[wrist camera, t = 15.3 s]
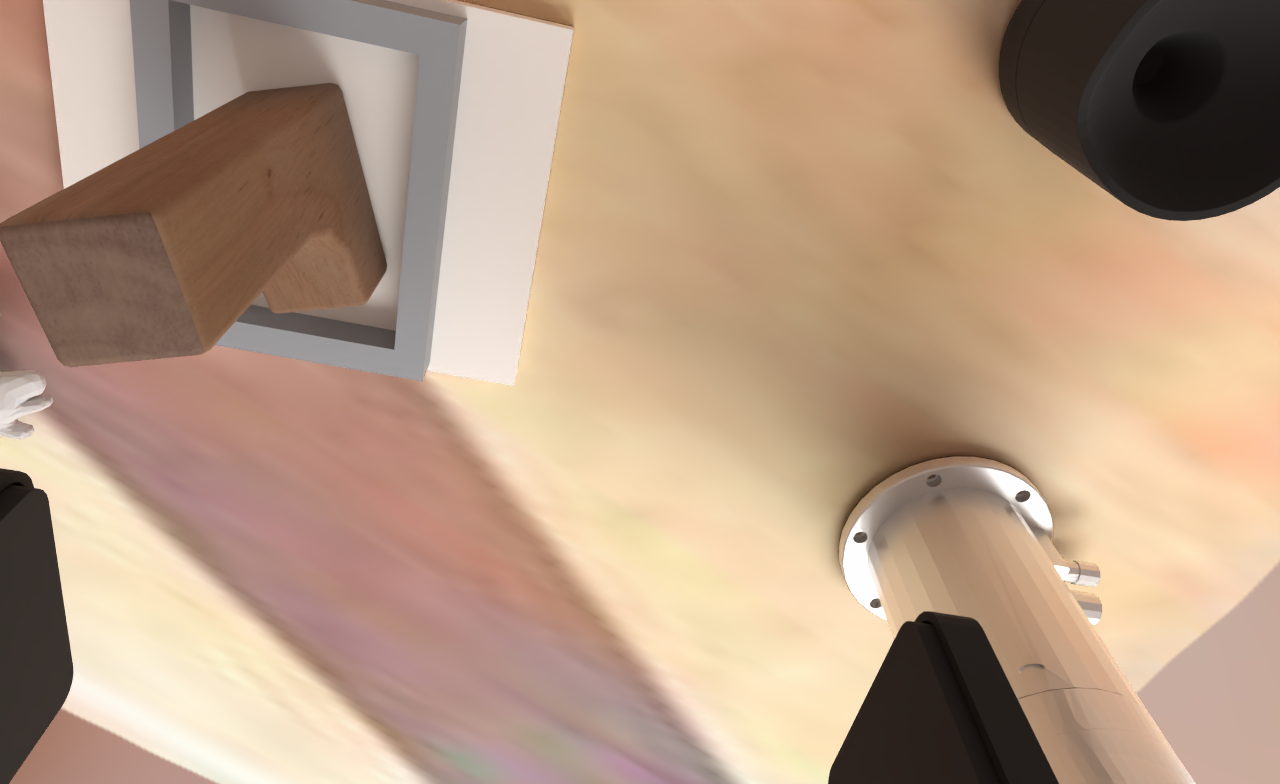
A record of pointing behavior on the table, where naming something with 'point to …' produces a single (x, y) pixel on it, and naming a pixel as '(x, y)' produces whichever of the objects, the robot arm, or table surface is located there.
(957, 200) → the table surface
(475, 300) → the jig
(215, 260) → the wooden block
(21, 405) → the toy figure
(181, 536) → the table surface
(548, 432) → the table surface
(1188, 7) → the pen holder
